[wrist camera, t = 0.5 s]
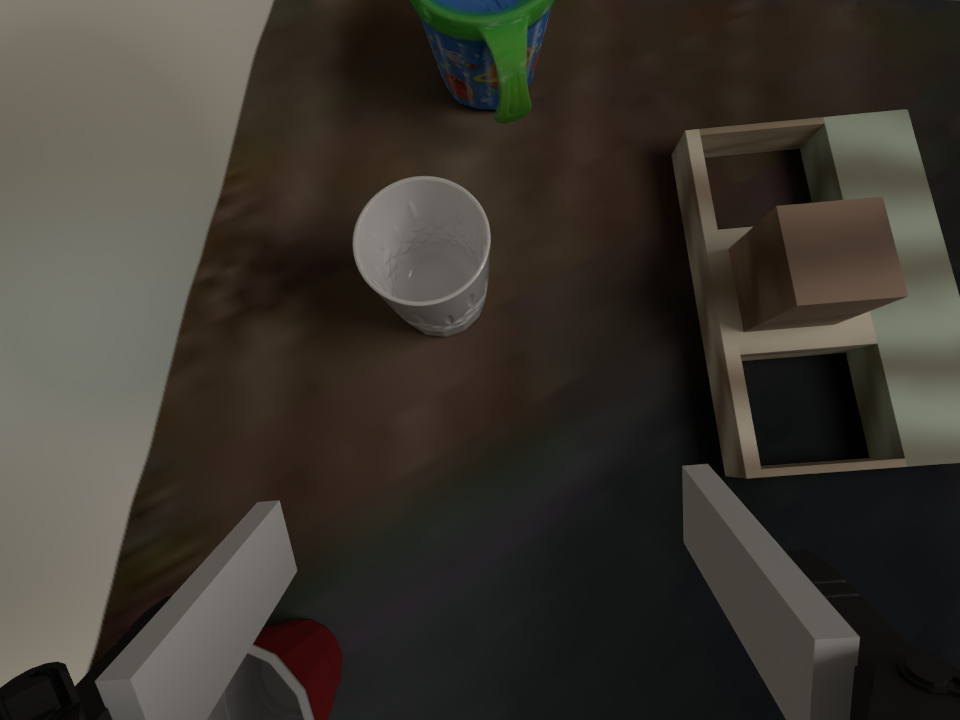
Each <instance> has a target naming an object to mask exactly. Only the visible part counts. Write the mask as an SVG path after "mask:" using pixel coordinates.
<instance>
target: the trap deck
mask: <svg viewBox="0 0 960 720" xmlns="http://www.w3.org/2000/svg"><path fill="white" fill-rule="evenodd" d="M793 149H800V152H801V156H802V160H803V165H804V169H805V174H806V178H807V183H808V187H809V191H810V196H811V200H812V203H816V202H827V201H838V200H849V199H860V198H871V197H882V196H883V199H884V203H885V207H886V211H887V215H888V219H889V223H890V227H891V230H892V234H893V238H894V242H895V246H896V250H897V254H898V258H899V262H900V265H901V269H902V273H903V277H904V281H905V285H906V289H907V293H908V297H906V298H903V299H900V300H898V301H895V302H892V303H890V304H887V305H885V306H882V307H879V308H877V309H874V310H872V311H869V312H866V313H864V314H861V315H859V316H856V317H853V318H851V319H848V320H846V321H843V322H840V323H838V324H835V325H826V326H814V327H802V328H790V329H778V330H765V331H753V332H744V331H743V325H742V320H741V314H740V309H739V304H738V298H737V293H736V288H735V282H734V277H733V271H732V266H731V261H730V255H729V250H728V249H729V248H730V247H731V246H732V245H734V244H735V243H736V242H737V241H738V240H739V239H740V238H741V237H742V236H744V235H745V234H746V233H747V232H748V231H749V230H750V229H751V228H753V227H744V228H733V229H722V230H717V224H716V219H715V214H714V208H713V203H712V197H711V192H710V186H709V181H708V175H707V170H706V164H705V159H704V158H707V157H718V156H729V155H739V154H750V153H761V152H771V151H782V150H793ZM671 156H672V162H673V168H674V174H675V180H676V186H677V192H678V198H679V204H680V210H681V216H682V221H683V227H684V233H685V239H686V245H687V251H688V257H689V263H690V269H691V275H692V281H693V287H694V293H695V299H696V305H697V311H698V317H699V322H700V328H701V334H702V340H703V346H704V352H705V358H706V364H707V370H708V376H709V382H710V388H711V394H712V400H713V406H714V412H715V418H716V423H717V429H718V435H719V441H720V447H721V453H722V459H723V465H724V471H725V476H729V477H738V478H759V477H772V476H786V475H800V474H813V473H827V472H840V471H854V470H867V469H881V468H894V467H908V466H921V465H935V464H948V463H960V297H959V293H958V289H957V286H956V282H955V279H954V275H953V272H952V268H951V264H950V261H949V257H948V254H947V250H946V246H945V243H944V239H943V236H942V232H941V228H940V225H939V221H938V218H937V214H936V210H935V207H934V203H933V200H932V196H931V192H930V189H929V185H928V182H927V178H926V175H925V171H924V167H923V164H922V160H921V157H920V153H919V149H918V146H917V142H916V139H915V135H914V131H913V128H912V124H911V121H910V117H909V113H908V110H907V109H905V110H895V111H884V112H874V113H863V114H853V115H842V116H832V117H821V118H811V119H801V120H790V121H780V122H769V123H759V124H748V125H738V126H727V127H717V128H706V129H696V130H685V132H684V134H683V136H682V137H681V139H680V141H679V143H678V144H677V146H676V148H675V150H674V151H673V153H672V155H671ZM835 353H846V355H847V360H848V364H849V369H850V373H851V377H852V382H853V386H854V391H855V395H856V400H857V404H858V408H859V413H860V417H861V422H862V426H863V431H864V435H865V439H866V444H867V448H868V453H869V457H870V458H862V459H849V460H835V461H822V462H809V463H795V464H782V465H768V466H761V465H760V460H759V454H758V449H757V443H756V438H755V432H754V427H753V422H752V416H751V411H750V405H749V400H748V394H747V389H746V383H745V378H744V372H743V367H742V361H749V360H761V359H773V358H786V357H798V356H810V355H823V354H835Z"/></svg>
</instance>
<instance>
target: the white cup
mask: <svg viewBox="0 0 960 720" xmlns="http://www.w3.org/2000/svg"><path fill="white" fill-rule="evenodd" d="M490 239H491V238H490V227H489V223H488V220H487V217H486V214H485V212H484V210H483V208H482V207H481V205H480V204H479V202H478V201H477V200H476V199H475V197H474V196H473V195H472V194H471V193H469V192H468V191H467V190H466V189H464V188H463V187H461V186H460V185H458V184H456V183H454V182H452V181H449V180H446V179H443V178H438V177H432V176H417V177H411V178H406V179H403V180H400V181H397V182H395V183H392V184H390V185H389V186H387V187H385V188H384V189H382V190H381V191H379V192H378V193H377V194H376V195H375V196H374V197H373V198H372V199H371V200H370V201H369V202H368V203H367V204H366V206H365V207H364V209H363V210H362V212H361V214H360V215H359V218H358V220H357V222H356V225H355V229H354V234H353V254H354V259H355V262H356V265H357V268H358V270H359V272H360V274H361V275H362V277H363V278H364V280H365V281H366V282H367V284H368V285H369V286H370V287H371V288H372V289H373V290H374V291H375V292H376V293H377V294H378V295H379V296H380V297H381V298H382V299H383V300H384V301H385V302H386V303H387V304H388V305H389V306H390V307H391V308H392V309H393V310H394V311H395V312H396V313H397V314H398V315H399V316H400V317H402V318H403V319H404V320H405V321H406V322H408V323H409V324H410V325H411V326H413V327H414V328H416V329H418V330H419V331H421V332H422V333H424V334H426V335H432V336H441V337H447V336H450V335H453V334H456V333H459V332H462V331H465V330H466V329H467V328H468V327H469V326H470V325H471V324H472V323H473V322H474V321H475V320H476V319H477V318H479V316H480V313H481V311H482V308H483V305H484V303H485V300H486V291H487V286H488V277H489V262H490Z"/></svg>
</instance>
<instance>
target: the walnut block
mask: <svg viewBox="0 0 960 720" xmlns="http://www.w3.org/2000/svg"><path fill="white" fill-rule="evenodd" d="M728 250H729V255H730V261H731V266H732V271H733V277H734V282H735V288H736V293H737V298H738V304H739V309H740V314H741V320H742V325H743V331H744V332H753V331H765V330H778V329H790V328H802V327H814V326H826V325H835V324H838V323H840V322H843V321H846V320H848V319H851V318H853V317H856V316H859V315H861V314H864V313H866V312H869V311H872V310H874V309H877V308H879V307H882V306H885V305H887V304H890V303H892V302H895V301H898V300H900V299H903V298H906V297H908V293H907V289H906V285H905V281H904V277H903V273H902V269H901V265H900V262H899V258H898V254H897V250H896V246H895V242H894V238H893V234H892V230H891V227H890V223H889V219H888V215H887V211H886V207H885V203H884V199H883V196H882V197H871V198H860V199H849V200H838V201H827V202H816V203H805V204H793V205H782V206H776V207H775V208H774V209H773V210H771V211H770V212H769V213H768V214H767V215H766V216H765V217H764V218H763V219H761V220H760V221H759V222H758V223H757V224H756V225H755V226H754V227H753V228H751V229H750V230H749V231H748V232H747V233H746V234H745V235H744V236H742V237H741V238H740V239H739V240H738V241H737V242H736V243H735V244H734V245H732V246H731V247H730V248H729V249H728Z"/></svg>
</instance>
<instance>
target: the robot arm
mask: <svg viewBox="0 0 960 720" xmlns="http://www.w3.org/2000/svg"><path fill="white" fill-rule="evenodd" d="M682 470H683V528H684V544H685V545H686V547H687V549H688V551H689V552H690V554H691V556H692V557H693V559H694V561H695V563H696V564H697V566H698V568H699V570H700V571H701V573H702V575H703V576H704V578H705V580H706V582H707V583H708V585H709V587H710V589H711V590H712V592H713V594H714V595H715V597H716V599H717V601H718V602H719V604H720V606H721V608H722V609H723V611H724V613H725V614H726V616H727V618H728V620H729V621H730V623H731V625H732V627H733V628H734V630H735V632H736V633H737V635H738V637H739V639H740V640H741V642H742V644H743V646H744V647H745V649H746V651H747V652H748V654H749V656H750V658H751V659H752V661H753V663H754V665H755V666H756V668H757V670H758V671H759V673H760V675H761V677H762V678H763V680H764V682H765V684H766V685H767V687H768V689H769V690H770V692H771V694H772V696H773V697H774V699H775V701H776V703H777V704H778V706H779V708H780V709H781V711H782V713H783V715H784V716H785V718H786V720H960V670H959V669H958V668H956V667H955V666H953V665H952V664H951V663H949V662H948V661H946V660H945V659H942V658H940V657H938V656H936V655H934V654H932V653H930V652H928V651H924V650H920V649H917V648H913V647H911V646H910V645H909V644H908V643H907V642H906V641H905V640H904V639H903V638H902V637H901V636H900V635H899V634H898V633H897V632H896V631H895V630H894V629H893V628H892V627H891V626H890V625H889V624H888V623H887V622H886V621H885V620H884V619H883V618H882V617H881V616H880V615H879V614H878V613H877V612H876V611H875V610H874V609H873V608H872V607H871V606H870V605H869V604H868V603H867V601H866V600H865V599H864V598H863V597H862V596H861V597H860V596H859V595H858V592H857V591H856V590H855V589H854V588H853V587H852V586H851V585H850V584H849V583H846V582H845V579H844V578H843V577H842V576H841V575H840V574H839V573H838V572H837V571H836V570H835V569H834V568H833V567H832V566H831V565H830V564H829V563H828V562H826V561H824V560H823V559H821V558H819V557H818V556H816V555H814V554H813V553H811V552H809V551H808V550H798V551H784V550H783V549H782V548H781V547H780V546H779V545H778V543H777V542H776V541H775V540H774V539H773V538H772V537H771V535H770V534H769V533H768V532H767V531H766V530H765V529H764V527H763V526H762V525H761V524H760V523H759V522H758V521H757V519H756V518H755V517H754V516H753V515H752V514H751V513H750V512H749V510H748V509H747V508H746V507H745V506H744V505H743V504H742V502H741V501H740V500H739V499H738V498H737V497H736V496H735V494H734V493H733V492H732V491H731V490H730V489H729V488H728V486H727V485H726V484H725V483H724V482H723V481H722V480H721V478H720V477H719V476H718V475H717V474H716V473H715V472H714V470H713V469H712V468H711V467H710V466H709V465H708V464H699V465H688V466H682ZM296 572H297V568H296V564H295V560H294V556H293V552H292V548H291V544H290V540H289V536H288V532H287V528H286V524H285V521H284V517H283V513H282V509H281V505H280V501H268V502H257V503H256V505H255V506H254V507H253V508H252V509H251V510H250V511H249V512H248V513H247V514H246V516H245V517H244V518H243V519H242V520H241V521H240V522H239V523H238V524H237V525H236V527H235V528H234V529H233V530H232V531H231V532H230V533H229V534H228V535H227V536H226V538H225V539H224V540H223V541H222V542H221V543H220V544H219V545H218V546H217V547H216V549H215V550H214V551H213V552H212V553H211V554H210V555H209V556H208V557H207V558H206V560H205V561H204V562H203V563H202V564H201V565H200V566H199V567H198V568H197V569H196V571H195V572H194V573H193V574H192V575H191V576H190V577H189V578H188V579H187V580H186V582H185V583H184V584H183V585H182V586H181V587H180V588H179V589H178V590H177V591H176V593H175V594H174V595H173V596H171V597H165V598H164V599H162V600H161V601H160V602H158V603H157V604H156V605H154V606H153V607H151V608H150V609H149V610H147V611H146V612H145V613H144V614H143V615H142V616H141V617H140V618H139V619H138V620H137V621H136V622H135V623H134V624H133V626H132V627H131V628H130V631H128V632H126V633H125V634H124V635H123V636H122V637H121V638H120V639H119V640H118V641H117V645H114V646H113V647H112V648H111V649H110V650H109V651H108V652H107V653H106V654H105V655H104V656H103V657H102V658H101V659H100V661H99V662H98V663H97V664H96V665H95V666H94V667H93V668H92V669H91V670H90V671H89V672H88V673H87V674H86V675H85V676H84V677H83V679H82V680H81V681H80V682H79V683H78V684H77V685H76V686H74V684H73V681H72V679H71V677H70V674H69V672H68V669H67V667H66V665H65V664H64V663H60V662H52V663H46V664H43V665H41V666H38V667H35V668H32V669H30V670H28V671H26V672H24V673H22V674H20V675H19V676H17V677H15V678H13V679H12V680H10V681H9V682H8V683H6V684H5V685H4V686H2V687H1V688H0V720H207V718H208V717H209V715H210V713H211V712H212V710H213V709H214V707H215V705H216V704H217V702H218V700H219V699H220V697H221V695H222V694H223V692H224V690H225V689H226V687H227V686H228V684H229V682H230V681H231V679H232V677H233V676H234V674H235V672H236V671H237V669H238V667H239V666H240V664H241V663H242V661H243V659H244V658H245V656H246V654H247V653H248V651H249V649H250V648H251V646H252V644H253V643H254V641H255V640H256V638H257V636H258V635H259V633H260V631H261V630H262V628H263V626H264V625H265V623H266V621H267V620H268V618H269V617H270V615H271V613H272V612H273V610H274V608H275V607H276V605H277V603H278V602H279V600H280V598H281V597H282V595H283V594H284V592H285V590H286V589H287V587H288V585H289V584H290V582H291V580H292V579H293V577H294V575H295V574H296Z"/></svg>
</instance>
